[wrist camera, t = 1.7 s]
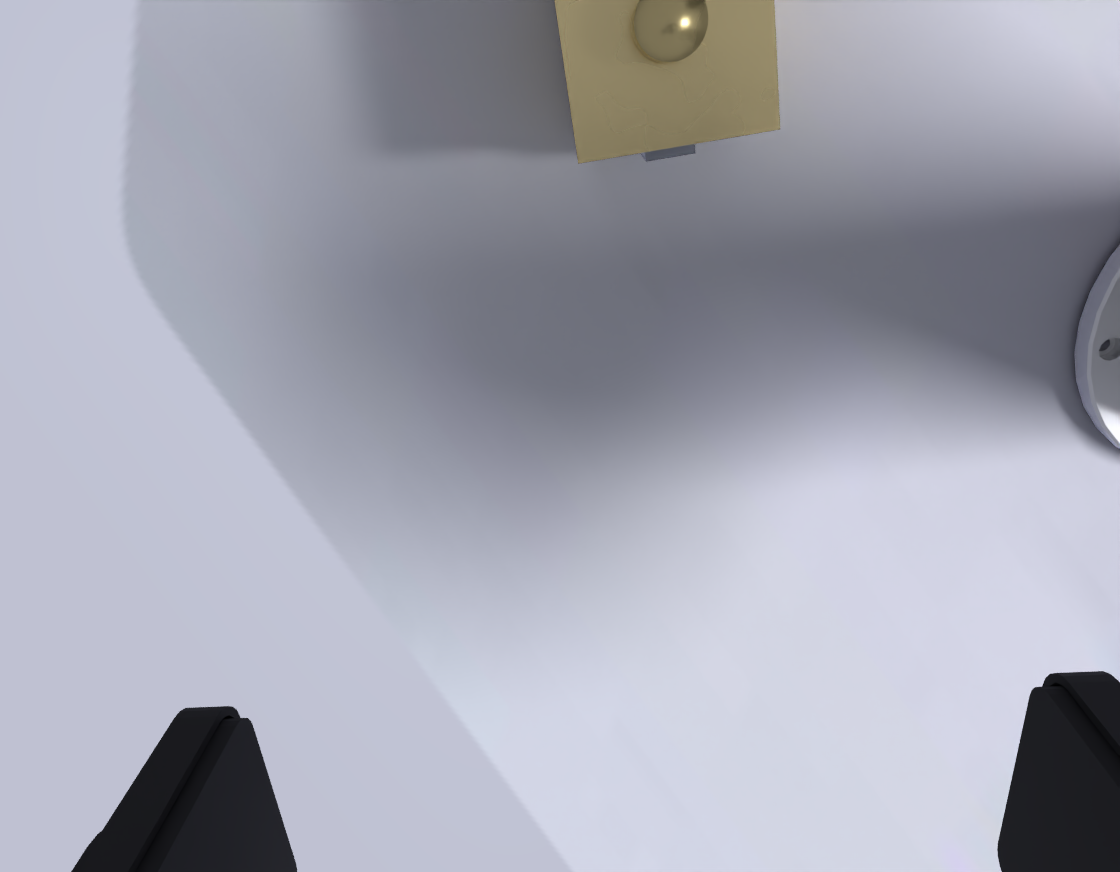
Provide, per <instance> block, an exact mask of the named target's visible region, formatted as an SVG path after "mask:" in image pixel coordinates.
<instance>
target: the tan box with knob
mask: <svg viewBox="0 0 1120 872" xmlns="http://www.w3.org/2000/svg"><path fill="white" fill-rule="evenodd" d="M554 1H555V8H556V14H557V21H558V28H559V35H560V42H561V49H562V56H563V62H564V69H565V76H566V83H567V90H568V97H569V103H570V110H571V117H572V124H573V131H574V138H575V144H576V151H577V158H578V164H579V163H585V162H591V161H597V160H602V159H608V158H614V157H620V156H626V155H632V154H638V153H644V152H650V151H655V150H661V149H667V148H673V147H679V146H685V145H691V144H697V143H703V142H709V141H714V140H720V139H726V138H732V137H738V136H744V135H750V134H756V133H762V132H768V131H773V130H779V129H780V115H779V93H778V72H777V50H776V28H775V7H774V0H554Z"/></svg>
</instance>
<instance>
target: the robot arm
mask: <svg viewBox="0 0 1120 872" xmlns="http://www.w3.org/2000/svg"><path fill="white" fill-rule="evenodd" d="M1074 353H1075V372H1076V382H1077V386H1078V389H1079V393H1080V396H1081V399H1082V403H1083V406H1084V408H1085V409H1086V411H1087V413H1088V414H1089V416H1090V418H1091V419H1092V421H1093V423H1094V424H1095V426H1096V428H1097V429H1098V430H1099V431H1100V432H1101V433H1102V434H1103V435H1104V436H1105V437H1106V438H1107V439H1108V440H1109V441H1110V442H1111V443H1112V444H1113V445H1114V446H1116V447H1117V448H1119V449H1120V245H1119V246H1118V247H1117V248H1116V250H1115V251H1114V252H1113V253H1112V255H1111V256H1110V257H1109V259H1108V260H1107V262H1106V264H1105V266H1104V267H1103V269H1102V271H1101V273H1100V274H1099V276H1098V278H1097V280H1096V282H1095V283H1094V285H1093V287H1092V289H1091V291H1090V293H1089V296H1088V299H1087V302H1086V304H1085V307H1084V310H1083V313H1082V316H1081V318H1080V321H1079V327H1078V333H1077V339H1076V346H1075V352H1074ZM998 859H999V864H1000V867H1001V871H1002V872H1120V682H1119V681H1118V680H1117V679H1115V678H1114V677H1113V676H1112V675H1111V674H1109V673H1106V672H1104V671H1098V672H1073V673H1054V674H1049V675H1048V676H1047V677H1046V678H1045V681H1044V684H1043V686H1042V687H1035V688H1034V689H1033V690H1032V691H1031V694H1030V697H1029V702H1028V706H1027V711H1026V715H1025V720H1024V725H1023V729H1022V734H1021V739H1020V743H1019V748H1018V753H1017V757H1016V762H1015V767H1014V771H1013V776H1012V781H1011V785H1010V790H1009V795H1008V799H1007V804H1006V809H1005V813H1004V818H1003V822H1002V827H1001V832H1000V836H999V841H998ZM72 872H297V867H296V862H295V859H294V856H293V852H292V849H291V847H290V843H289V840H288V837H287V833H286V830H285V827H284V824H283V821H282V817H281V814H280V811H279V808H278V805H277V801H276V798H275V795H274V792H273V789H272V785H271V782H270V779H269V776H268V773H267V769H266V766H265V763H264V760H263V757H262V754H261V750H260V747H259V744H258V741H257V737H256V734H255V731H254V728H253V725H252V723H251V721H250V720H249V719H248V718H240V716H239V714H238V712H237V710H236V709H235V708H233V707H229V706H224V707H199V708H185V709H183V710H181V711H180V712H179V713H178V714H177V716H176V717H175V718H174V720H173V721H172V723H171V724H170V726H169V728H168V729H167V731H166V732H165V734H164V735H163V737H162V738H161V740H160V741H159V743H158V745H157V746H156V748H155V749H154V751H153V752H152V754H151V756H150V757H149V759H148V760H147V762H146V763H145V765H144V766H143V768H142V769H141V771H140V773H139V774H138V776H137V777H136V779H135V781H134V782H133V784H132V785H131V787H130V788H129V790H128V791H127V793H126V794H125V796H124V798H123V799H122V801H121V803H120V804H119V805H118V807H117V809H116V810H115V812H114V813H113V815H112V816H111V818H110V819H109V821H108V823H107V824H106V826H105V827H104V829H103V830H102V831H101V832H100V833H99V834H97V836H96V837H95V839H93V841H92V842H91V843H90V844H89V846H88V847H87V848H86V850H85V851H84V853H83V855H82V856H81V858H80V859H79V861H78V862H77V864H76V865H75V867H74V869H73V870H72Z"/></svg>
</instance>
